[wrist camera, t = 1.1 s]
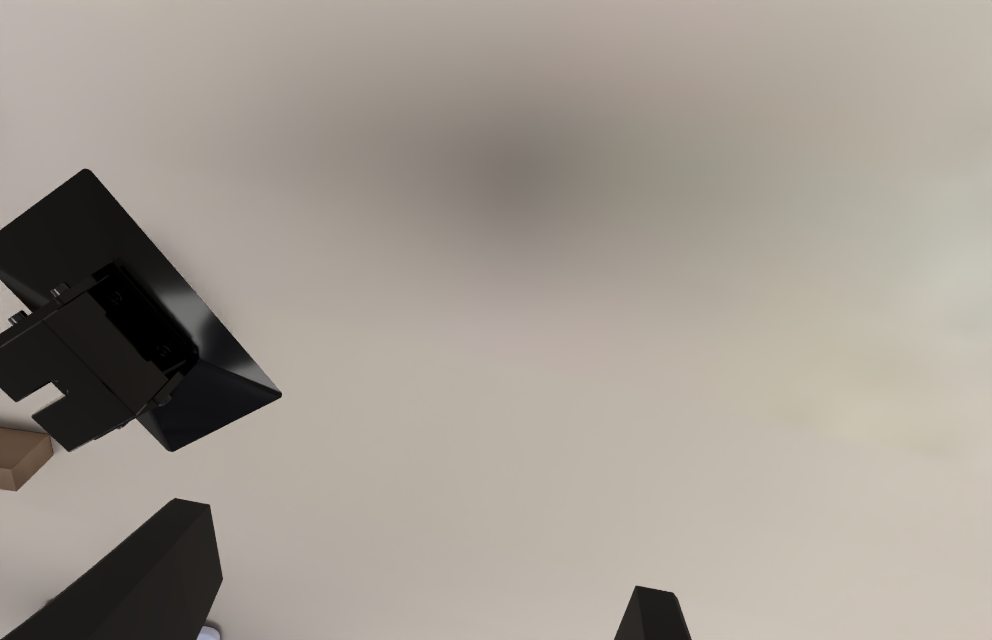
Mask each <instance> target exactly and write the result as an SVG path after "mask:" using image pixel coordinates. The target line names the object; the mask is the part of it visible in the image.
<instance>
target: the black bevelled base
mask: <svg viewBox="0 0 992 640" xmlns="http://www.w3.org/2000/svg"><path fill="white" fill-rule="evenodd" d="M0 280H1V281H2V282H3V283H4V284H5V285H6V286H7V287H8V288H9V289H10V290H11V291H12V292H13V293H14V294H15V295H16V296H17V297H18V298H19V299H20V300H21V301H22V302H23V303H24V304H25V305H26V306H27V307H28V309H29V310H30V311H31V312H32V313H31V314H30V315H27V314H26V313H25V312H24V311H23V310H21V311H20V312H18V313H17V314H15V315H13V316H12V317H10V318H9V319H8V321H9V322H10V323H11V324H12V325H13V326H11V327H10V328H8V329H7V330H5V331H4V332H2V333H1V334H0V388H1V389H2V390H3V391H4V392H5V393H6V394H7V395H8V396H9V397H10V398H11V399H13V400H14V401H15V402H18V401H20V400H22V399H23V398H25V397H27V396H28V395H30V394H32V393H33V392H35V391H37V390H38V389H40V388H42V387H43V386H45V385H47V384H48V383H50V382H52V383H53V384H54V385H55V386H56V387H57V388H58V389H59V390H60V391H61V392H62V393H63V395H62V396H60V397H58V398H57V399H55V400H53V401H52V402H50V403H48V404H46V405H45V406H43V407H41V408H40V409H39V410H38V411H36V412H35V413H34V414H33V415H32V418H33V419H34V420H35V421H36V422H37V423H38V424H39V425H40V426H41V427H42V428H43V429H44V430H46V431H47V432H48V433H49V434H50V435H51V436H52V437H53V438H54V439H55V440H56V441H57V442H58V443H59V444H60V445H62V446H63V447H64V448H65V449H66V450H67V451H68V452H72V451H74V450H75V449H77V448H79V447H81V446H83V445H85V444H86V443H88V442H90V441H92V440H96V439H98V438H100V437H102V436H104V435H106V434H107V433H109V432H111V431H113V430H115V429H121V428H122V427H124V426H125V425H126V424H128V423H129V422H130V421H131V420H133V419H135V418H136V419H137V420H138V421H139V422H140V423H141V424H142V425H143V426H144V427H145V428H146V429H147V430H148V431H149V432H150V433H151V434H152V435H153V436H154V437H155V438H156V439H157V440H158V441H159V442H160V443H161V444H162V445H163V446H164V447H165V449H167V450H168V451H170V452H174V451H176V450H178V449H180V448H182V447H184V446H186V445H188V444H190V443H192V442H194V441H196V440H198V439H200V438H202V437H204V436H206V435H208V434H210V433H212V432H214V431H216V430H218V429H220V428H222V427H223V426H225V425H227V424H229V423H231V422H233V421H235V420H237V419H239V418H241V417H243V416H245V415H247V414H249V413H251V412H253V411H255V410H257V409H259V408H261V407H263V406H265V405H267V404H269V403H271V402H273V401H275V400H277V399H279V398H281V397H282V393H281V391H280V390H279V389H278V388H277V387H276V386H275V384H274V383H273V382H272V381H271V380H270V379H269V377H268V376H267V375H266V374H265V373H264V372H263V370H262V369H261V368H260V367H259V366H258V365H257V363H256V362H255V361H254V360H253V359H252V358H251V356H250V355H249V354H248V353H247V352H246V351H245V349H244V348H243V347H242V346H241V345H240V344H239V342H238V341H237V340H236V339H235V338H234V337H233V335H232V334H231V333H230V332H229V331H228V330H227V328H226V327H225V326H224V325H223V324H222V323H221V322H220V320H219V319H218V318H217V317H216V316H215V315H214V313H213V312H212V311H211V310H210V309H209V308H208V306H207V305H206V304H205V303H204V302H203V301H202V299H201V298H200V297H199V296H198V295H197V294H196V292H195V291H194V290H193V289H192V288H191V287H190V285H189V284H188V283H187V282H186V281H185V280H184V278H183V277H182V276H181V275H180V274H179V273H178V271H177V270H176V269H175V268H174V267H173V266H172V264H171V263H170V262H169V261H168V260H167V259H166V257H165V256H164V255H163V254H162V253H161V252H160V251H159V249H158V248H157V247H156V246H155V245H154V244H153V242H152V241H151V240H150V239H149V238H148V237H147V235H146V234H145V233H144V232H143V231H142V230H141V228H140V227H139V226H138V225H137V224H136V223H135V221H134V220H133V219H132V218H131V217H130V216H129V214H128V213H127V212H126V211H125V210H124V209H123V207H122V206H121V205H120V204H119V203H118V202H117V200H116V199H115V198H114V197H113V196H112V195H111V193H110V192H109V191H108V190H107V189H106V188H105V186H104V185H103V184H102V183H101V182H100V181H99V180H98V178H97V177H96V176H95V175H94V174H93V173H92V171H90V170H89V169H83V170H81V171H80V172H78V173H77V174H76V175H74V176H73V177H72V178H70V179H69V180H68V181H66V182H65V183H64V184H62V185H61V186H59V187H58V188H57V189H55V190H54V191H53V192H51V193H50V194H49V195H47V196H46V197H45V198H43V199H42V200H40V201H39V202H38V203H36V204H35V205H34V206H32V207H31V208H30V209H28V210H27V211H26V212H24V213H23V214H21V215H20V216H19V217H17V218H16V219H15V220H13V221H12V222H11V223H9V224H8V225H7V226H5V227H4V228H2V229H1V230H0Z"/></svg>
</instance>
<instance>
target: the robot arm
mask: <svg viewBox="0 0 992 640" xmlns="http://www.w3.org/2000/svg"><path fill="white" fill-rule="evenodd" d="M222 580H223V577H222V571H221V565H220V560H219V554H218V548H217V543H216V537H215V531H214V526H213V520H212V514H211V509H210V505H209V504H203V503H198V502H193V501H187V500H182V499H177V498H174V499H173V500H171V501H169V502H168V503H167V504H166V505H165V506H164V507H162V508H161V509H160V510H159V511H158V512H157V513H155V514H154V515H153V516H152V517H151V518H150V519H148V520H147V521H146V522H145V523H144V524H143V525H141V526H140V527H139V528H138V529H137V530H136V531H135V532H133V533H132V534H131V535H130V536H129V537H128V538H126V539H125V540H124V541H123V542H122V543H120V544H119V545H118V546H117V547H116V548H115V549H113V550H112V551H111V552H110V553H109V554H107V555H106V556H105V557H104V558H103V559H102V560H100V561H99V562H98V563H97V564H96V565H94V566H93V567H92V568H91V569H90V570H88V571H87V572H86V573H85V574H83V575H82V576H81V577H80V578H78V579H77V580H76V581H75V582H74V583H72V584H71V585H70V586H69V587H67V588H66V589H65V590H64V591H62V592H61V593H60V594H59V595H57V596H56V597H55V598H54V599H53V600H51V601H50V602H49V603H48V604H46V605H45V606H42V607H41V608H40V609H39V610H38V612H36V613H35V614H34V615H32V616H31V617H30V618H29V619H27V620H26V621H25V622H23V623H22V624H21V625H19V626H18V627H17V628H15V629H14V630H13V631H11V632H10V633H9V634H7V635H6V636H5V637H3V638H2V639H1V640H220V635H219V633H218V632H217V631H216V630H215V629H213V628H210V627H205V626H203V625H204V622H205V620H206V618H207V616H208V613H209V611H210V609H211V606H212V604H213V602H214V599H215V597H216V595H217V592H218V590H219V588H220V585H221V583H222ZM614 640H692V639H691V636H690V633H689V631H688V628H687V625H686V622H685V619H684V616H683V613H682V610H681V607H680V604H679V601H678V598H677V597H676V596H675V595H674V593H673V592H667V591H662V590H657V589H651V588H646V587H641V586H635V589H634V591H633V594H632V596H631V599H630V601H629V604H628V606H627V609H626V611H625V614H624V616H623V619H622V621H621V624H620V626H619V629H618V631H617V634H616V636H615V638H614Z"/></svg>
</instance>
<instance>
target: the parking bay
mask: <svg viewBox="0 0 992 640" xmlns="http://www.w3.org/2000/svg"><path fill="white" fill-rule="evenodd" d="M52 456H53V451H52V446H51V442H50V437H49V434H42V433H35V432H28V431H21V430H14V429H7V428H0V489H3V490H10V491H17V490H18V489H19V488H20V487H21V486H23V485H24V484H25V483H26V482H27V481H28V480H29V479H30V478H31V477H32V476H33V475H34V474H35V473H36V472H37V471H38V470H39V469H40V468H41V467H42V466H43V465H44V464H45V463H46V462H47V461H48V460H49V459H50V458H51V457H52Z"/></svg>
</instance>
